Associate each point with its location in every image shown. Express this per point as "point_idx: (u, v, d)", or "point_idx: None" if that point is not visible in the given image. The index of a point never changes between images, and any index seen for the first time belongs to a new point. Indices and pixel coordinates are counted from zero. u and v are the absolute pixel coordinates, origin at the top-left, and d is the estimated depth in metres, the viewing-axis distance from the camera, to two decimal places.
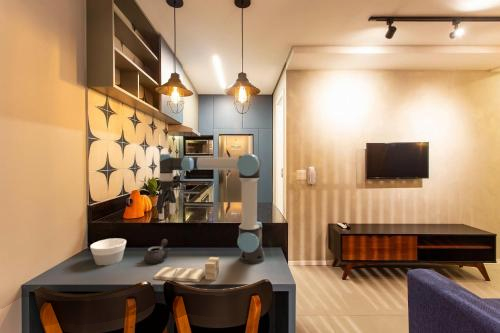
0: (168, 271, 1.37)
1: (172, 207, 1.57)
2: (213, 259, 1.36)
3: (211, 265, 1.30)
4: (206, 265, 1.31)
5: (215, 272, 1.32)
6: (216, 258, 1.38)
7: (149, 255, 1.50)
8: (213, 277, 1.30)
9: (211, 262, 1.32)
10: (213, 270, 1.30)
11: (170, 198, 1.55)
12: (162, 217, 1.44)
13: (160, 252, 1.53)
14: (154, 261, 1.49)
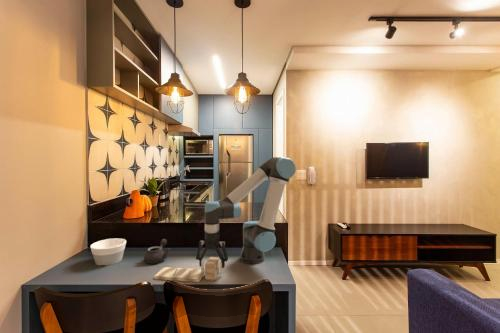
0: (168, 271, 1.37)
1: None
2: (213, 259, 1.36)
3: (211, 265, 1.30)
4: (206, 265, 1.31)
5: (215, 272, 1.32)
6: (216, 258, 1.38)
7: (149, 255, 1.50)
8: (213, 277, 1.30)
9: (211, 262, 1.32)
10: (213, 270, 1.30)
11: None
12: None
13: (160, 252, 1.53)
14: (154, 261, 1.49)
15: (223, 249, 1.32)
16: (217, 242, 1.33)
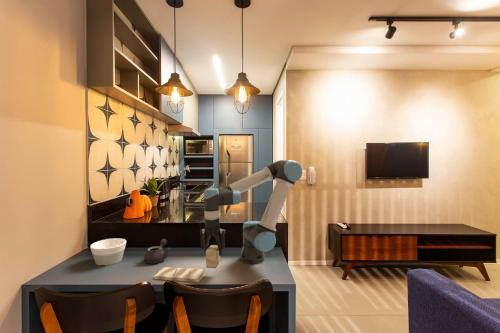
0: (168, 271, 1.37)
1: None
2: (214, 247, 1.36)
3: (212, 253, 1.30)
4: (207, 253, 1.31)
5: (216, 260, 1.32)
6: (217, 246, 1.37)
7: (149, 255, 1.50)
8: (214, 264, 1.30)
9: (212, 250, 1.32)
10: (214, 257, 1.30)
11: None
12: None
13: (160, 252, 1.53)
14: (154, 261, 1.49)
15: (222, 237, 1.32)
16: (217, 229, 1.33)
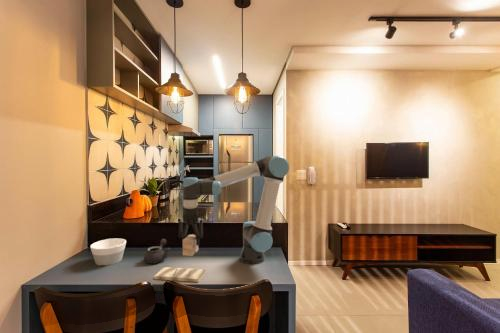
0: (168, 271, 1.37)
1: None
2: (192, 236, 1.36)
3: (189, 241, 1.30)
4: (184, 241, 1.30)
5: (193, 248, 1.31)
6: None
7: (149, 255, 1.50)
8: (190, 253, 1.30)
9: (189, 238, 1.32)
10: (190, 246, 1.30)
11: None
12: None
13: (160, 252, 1.53)
14: (154, 261, 1.50)
15: (200, 226, 1.32)
16: (196, 218, 1.32)
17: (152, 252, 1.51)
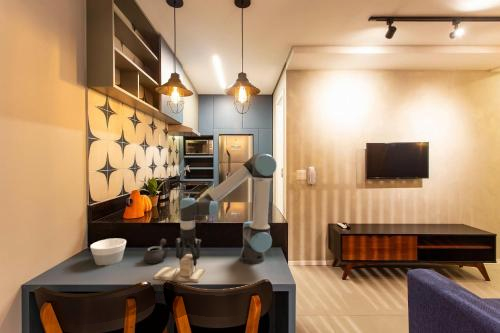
0: (168, 271, 1.37)
1: None
2: (189, 256, 1.36)
3: (186, 262, 1.30)
4: (181, 262, 1.31)
5: (190, 269, 1.32)
6: None
7: (149, 255, 1.50)
8: (188, 274, 1.30)
9: (186, 259, 1.32)
10: (188, 267, 1.30)
11: None
12: None
13: (160, 252, 1.53)
14: (154, 261, 1.50)
15: (197, 247, 1.33)
16: (193, 239, 1.33)
17: (152, 252, 1.51)
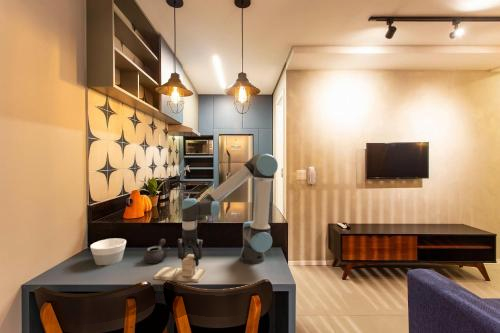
0: (168, 271, 1.37)
1: None
2: (191, 256, 1.36)
3: (188, 262, 1.30)
4: (183, 262, 1.31)
5: (192, 269, 1.32)
6: None
7: (149, 255, 1.51)
8: (190, 274, 1.30)
9: (188, 259, 1.32)
10: (190, 267, 1.30)
11: None
12: None
13: (160, 252, 1.54)
14: (154, 261, 1.50)
15: (199, 247, 1.33)
16: (195, 239, 1.33)
17: (152, 252, 1.51)
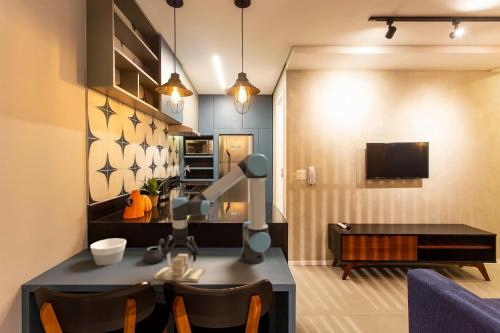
0: (168, 271, 1.37)
1: None
2: (181, 255, 1.37)
3: (179, 261, 1.31)
4: (173, 261, 1.31)
5: (182, 268, 1.33)
6: (185, 254, 1.38)
7: (149, 255, 1.51)
8: (180, 273, 1.31)
9: (179, 258, 1.33)
10: (180, 266, 1.31)
11: None
12: None
13: (160, 251, 1.54)
14: (154, 260, 1.50)
15: (192, 243, 1.33)
16: (185, 238, 1.34)
17: (152, 252, 1.51)
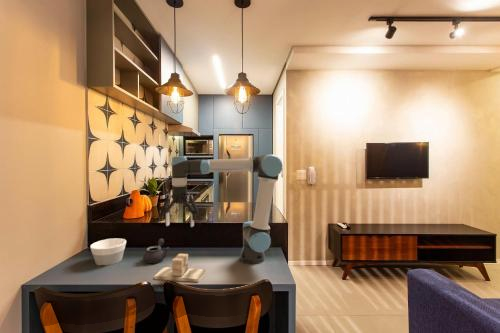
0: (168, 271, 1.37)
1: None
2: (181, 255, 1.37)
3: (179, 261, 1.31)
4: (173, 261, 1.31)
5: (182, 268, 1.33)
6: (185, 254, 1.38)
7: (149, 255, 1.51)
8: (180, 273, 1.31)
9: (179, 258, 1.33)
10: (180, 266, 1.31)
11: None
12: None
13: (159, 251, 1.54)
14: (154, 260, 1.50)
15: (191, 201, 1.32)
16: (184, 196, 1.33)
17: (152, 252, 1.51)
